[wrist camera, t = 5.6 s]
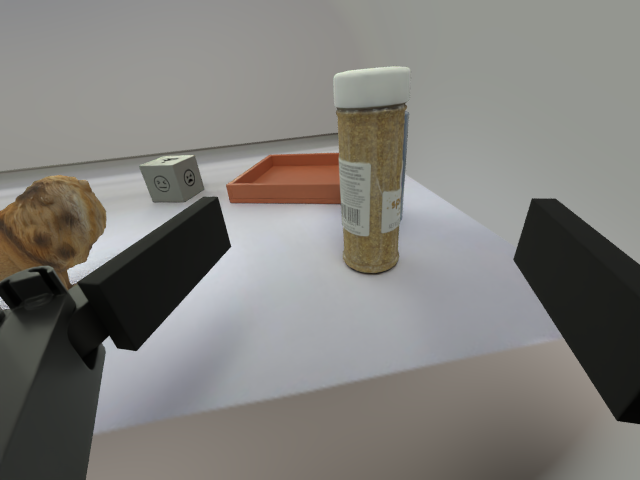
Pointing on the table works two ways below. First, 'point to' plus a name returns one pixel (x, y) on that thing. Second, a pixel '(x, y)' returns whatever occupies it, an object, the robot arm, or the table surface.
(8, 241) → the lion figurine
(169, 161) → the dice cube
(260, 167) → the tray
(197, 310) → the table surface
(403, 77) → the spice jar
